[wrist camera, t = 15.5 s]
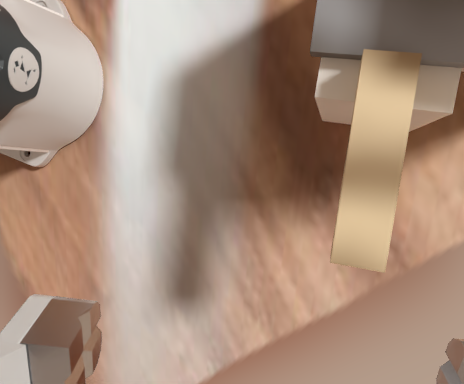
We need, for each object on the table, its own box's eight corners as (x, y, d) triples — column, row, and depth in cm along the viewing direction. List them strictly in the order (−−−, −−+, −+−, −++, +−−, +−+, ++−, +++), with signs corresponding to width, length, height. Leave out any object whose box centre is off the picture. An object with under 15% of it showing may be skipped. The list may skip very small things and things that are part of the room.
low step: (322, 120, 42) (314, 96, 27) (347, -27, 41) (354, -143, 25) (408, 132, 41) (452, 113, 25) (437, -22, 39) (503, -143, 24)
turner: (338, -133, 26) (338, -165, 23) (505, -136, 24) (525, -171, 21) (283, 245, 28) (278, 253, 25) (432, 271, 26) (442, 283, 23)
